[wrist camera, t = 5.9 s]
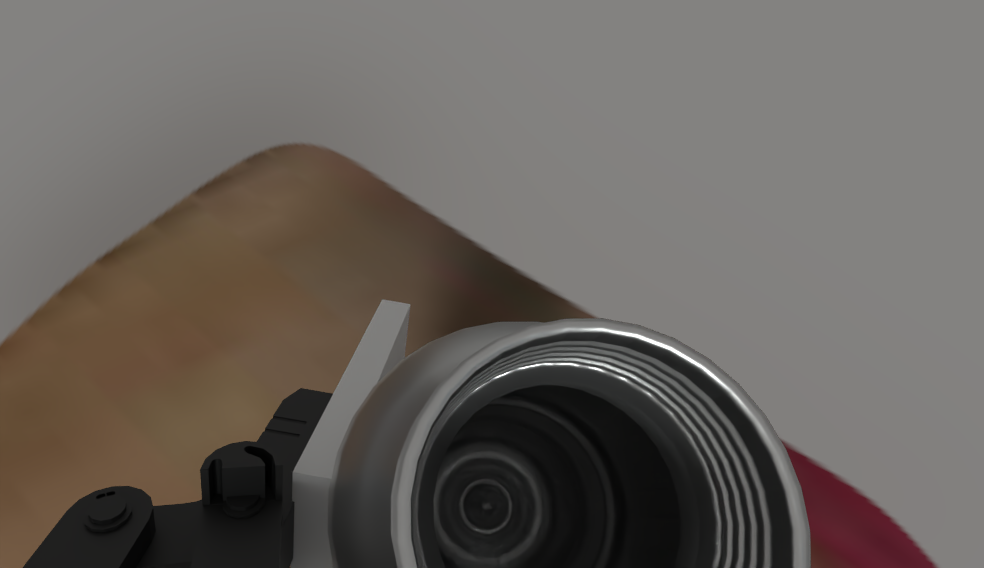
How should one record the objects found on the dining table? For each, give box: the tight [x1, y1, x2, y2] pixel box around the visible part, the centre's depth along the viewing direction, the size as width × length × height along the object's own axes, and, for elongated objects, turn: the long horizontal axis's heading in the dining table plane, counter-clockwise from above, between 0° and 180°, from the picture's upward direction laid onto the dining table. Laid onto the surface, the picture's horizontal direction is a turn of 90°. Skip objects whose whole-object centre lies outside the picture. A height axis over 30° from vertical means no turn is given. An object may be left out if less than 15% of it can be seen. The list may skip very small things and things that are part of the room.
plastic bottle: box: [327, 318, 811, 568], centre depth 15 cm, size 6×7×20 cm
